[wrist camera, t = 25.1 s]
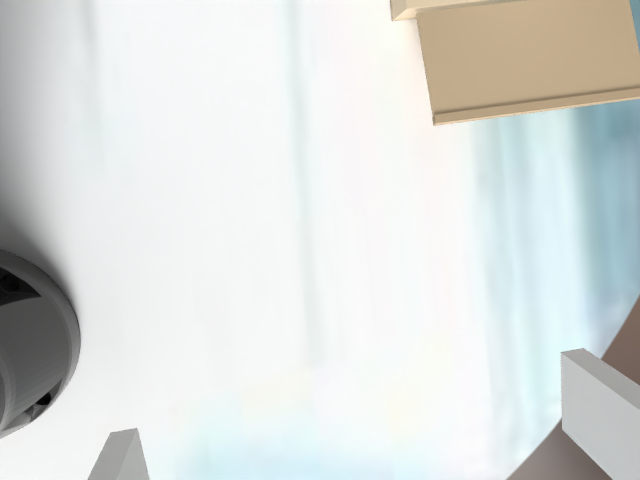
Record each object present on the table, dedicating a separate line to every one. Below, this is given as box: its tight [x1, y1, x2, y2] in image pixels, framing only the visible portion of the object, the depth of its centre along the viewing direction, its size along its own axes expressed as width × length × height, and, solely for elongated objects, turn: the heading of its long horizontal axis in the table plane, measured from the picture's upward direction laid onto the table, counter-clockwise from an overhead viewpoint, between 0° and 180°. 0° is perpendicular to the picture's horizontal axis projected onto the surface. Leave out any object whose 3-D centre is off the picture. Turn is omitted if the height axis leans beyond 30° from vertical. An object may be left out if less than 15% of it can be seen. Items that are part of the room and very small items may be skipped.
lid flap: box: [416, 0, 640, 126], centre depth 35 cm, size 16×8×1 cm, turn 97°
